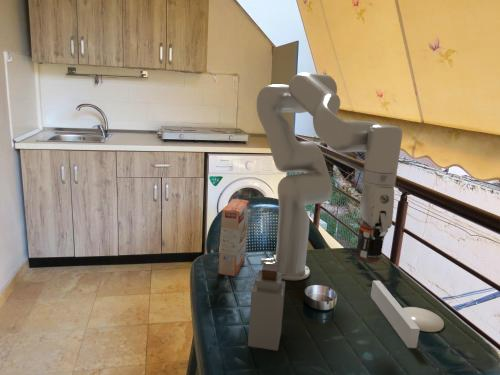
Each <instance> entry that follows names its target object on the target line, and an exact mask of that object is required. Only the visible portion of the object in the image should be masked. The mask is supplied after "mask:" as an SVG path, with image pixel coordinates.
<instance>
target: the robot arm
mask: <svg viewBox="0 0 500 375" xmlns="http://www.w3.org/2000/svg"><path fill="white" fill-rule="evenodd" d="M337 93H338V85H337V82H336V81H335V79H334V78H333V77H332V76H330V75H328V74H324V73H313V72H300V73H297V74H295V75H294V76H293V77H292V78H291V79H290V80H289V82H288V84H268V85H266V86H264V87H262V88H261V89H260V91H259V92H258V94H257V98H256V112H257V116H258V120H259V122H260V124H261V126H262V128H263V130H264V132H265V135H266V138H267V141H268V145H269V148H270V153H271V155H272V158H273V159H272V160H273V162H274V165H275V168H276V169H277V170H278V171H279V172H282V173H294V174H289V175H286V176H284V177H282V179H280V181H279V183H278V185H277V198H278V222H277V223H278V224H277V234H276V235H277V238H276V247H275V248H276V249H275V254H273V257H270V258H266V257H264V258H263V257H261V258H260V265H264V264H271V265H278V271H277V273H283V275H282V279H281V280H285V281H302V280H304V279H307V278H308V277H309V276H310V273H311V270H310V268H309V266H307V265H306V263H307V262H306V261H307V254H308V252H307V251H308V243H309V233H310V216H309V213H308V212H307V210H306V206H308V205H318V204H321V203H325V202H327V201H329V200H330V198H332V195H333V184H332V180H331V176H330V172H329V169H328V167H327V164H326V161H325V160H326V159H325V157H324V153H323V151H322V149H321V148H320V146H318V145H317V144H316V143H314V142H311V141H299V140H298V139H297V138H296V135H295V131H294V128H293V126H292V124H291V123H290V122H289V121H288V119H287V118H286V116H285V117H284V116H283V114H282V113H284V114H285V113H291V114H302V113H308V114H309V115H311V117H312V125H313V130H314V132H315V134H316V135H317V137H318V138H319V139H320V140H321V141H322V142H323V143H324V144H326V145H327V147H329V148H330V149H332V151H336V152H338V153H351V152H353V153H354V152H355V153H357V152H358V153H359V152H362V153H363V152H365V157H364V163H363V172H362V180H361V182H362V184H363V186H362V190H361V191H362V192H361V196H360V202H359V214H358V215H359V217H360V224H361V222H363V221H365V222H366V223H367V224H368V225H369V226H371V238H369V245H368V252H367V253H368V254H369V255H381V256H382V253H383V246H382V245H384V240H385V237H386V235H387V233H388V232H389V229H390V228H392V225H393V218H394V216H393V215H394V207H395V206H394V205H395V188H394V187H395V186H396V181H397V174H398V168H399V161H400V160H399V159H400V154H401V149H402V141H403V140H402V139H403V130H402V128H401V127H399V126H396V125H391V124H381V123H378V122H376V121H369V120H342V118H340V117H338V116H337V114H338V113H339V110H340V108H341V99H340V97H339V96H338V94H337ZM302 172H303V173H302ZM295 173H296V174H295ZM297 173H298V174H297ZM360 224H359V225H360ZM375 224H380V226H376V225H375ZM375 229H380V230H379V231H377V232H376V233H375Z"/></svg>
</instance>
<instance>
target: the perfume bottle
mask: <svg viewBox="0 0 500 375" xmlns="http://www.w3.org/2000/svg"><path fill="white" fill-rule="evenodd" d="M277 271H278V265H271V264H262V268H261V270H258V274H257V276H256V277H255V280H254V283H253V286H252V288H251V291H250V305H249V307H250V309H249V323H248V336H247V337H248V339H247V346H248V347H252V348H260V349H265V350H271V351H279V346H280V341H281V336H282V327H283V326H282V325H283V315H284V314H283V313H284V301H285V290H286V280H285V281H284V280H283V279H282V275H283V273H277Z"/></svg>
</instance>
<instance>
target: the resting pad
mask: <svg viewBox="0 0 500 375" xmlns="http://www.w3.org/2000/svg"><path fill="white" fill-rule="evenodd" d="M402 308H403V309H404V310H405V312H406V313H407V314H408V315H409V316H410V318H411V319H412V320H413V321H414V322H415V324H416V325H417V326H418V327H419V328H420V331H421V332H425V333H426V332H428V333H436V332H440V331H442V330H443V329H444V326H445V322H444V320H443V319H442V318H441V317H440V316H439V315H438V314H436V313H434V312H432V311H430V310H428V309H426V308H425V309H424V308H422V307H421V308H420V307H416V306H415V307H414V306H407V307H406V306H405V307H402ZM420 331H419V332H420Z"/></svg>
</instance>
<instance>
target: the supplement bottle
mask: <svg viewBox="0 0 500 375" xmlns="http://www.w3.org/2000/svg"><path fill="white" fill-rule="evenodd" d="M360 223H361V224H359V228H358V230H359V232H358V235H357V236H358V237H357V238H358V239H357V245H356V251H355V255H356V258H357V259H359V260H360V261H363V262H365V263H366V262H367V263H377V262H379V261H380V260H381V257H382V254H381V255H369V254H368V253H367V252H368V245H369V238H371V226H369V225H368V224H367V223H366V222H365V221H363V222H361V221H360ZM375 225H376V226H380V224H375ZM379 230H380V229H375V233H376V232H377V231H379ZM383 245H384V244H383ZM383 245H382V247H383Z"/></svg>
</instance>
